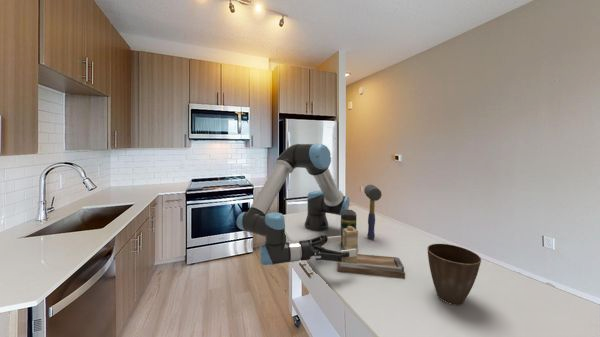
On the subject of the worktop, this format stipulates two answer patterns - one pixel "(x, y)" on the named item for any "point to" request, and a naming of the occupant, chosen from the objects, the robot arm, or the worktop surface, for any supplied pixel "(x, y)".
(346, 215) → the coffee jar
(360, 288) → the worktop surface
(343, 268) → the walnut board
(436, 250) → the plant pot
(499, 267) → the worktop surface
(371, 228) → the rubber mallet
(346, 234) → the beige tall block
